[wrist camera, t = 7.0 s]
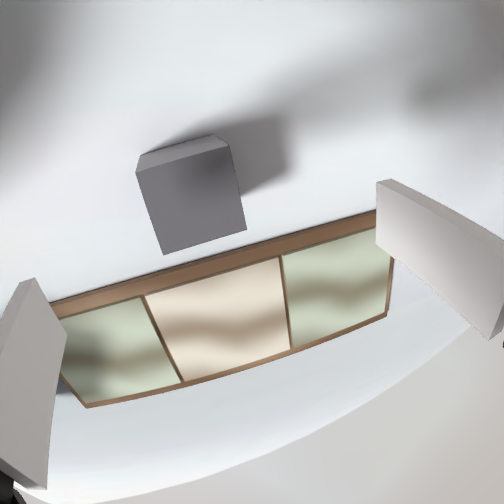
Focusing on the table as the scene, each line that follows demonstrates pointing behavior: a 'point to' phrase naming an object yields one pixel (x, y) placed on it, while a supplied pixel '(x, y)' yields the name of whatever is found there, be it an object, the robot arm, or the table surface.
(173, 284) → the board
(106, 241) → the table surface
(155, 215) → the gray block
